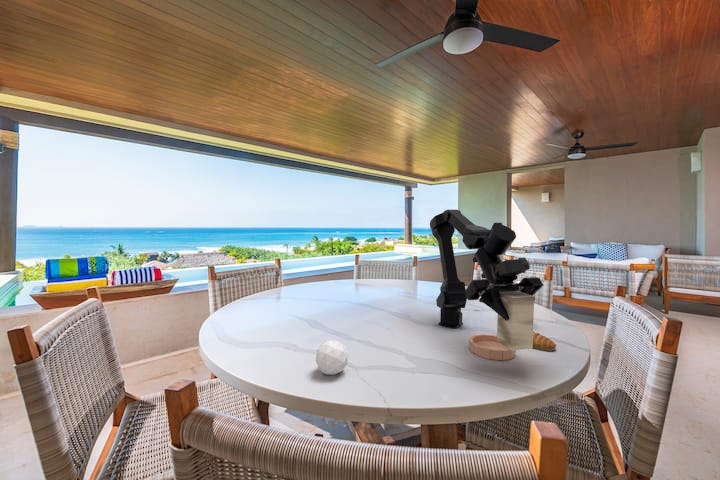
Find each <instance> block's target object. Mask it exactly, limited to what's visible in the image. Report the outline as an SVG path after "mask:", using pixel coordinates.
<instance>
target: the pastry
mask: <svg viewBox="0 0 720 480" xmlns="http://www.w3.org/2000/svg"><path fill="white" fill-rule="evenodd" d="M556 347H557V344H556V343H555V342H554V341H553V340H551V339H550V338H548V337H546V336H544V335H542V334H541V333H539V332H535V331H533V349H534V350H538V351H544V352H546V351H547V352H553V351H554V350H556Z"/></svg>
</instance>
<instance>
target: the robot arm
mask: <svg viewBox="0 0 720 480" xmlns="http://www.w3.org/2000/svg"><path fill="white" fill-rule="evenodd" d="M429 227H430V230H431V235H432V236H433V238H435V239H436V241H437V243H438V250H439V256H440V263H441V271H442V277H443V281H442V284H441V285H440V287H439V290H440V293H439V294H438V296H437V298H436V300H435V302H436V307H438V308H440V309H439V310H440V313H439V315H440V316H439V317H440V321H439V322H438V323H437V324H438V325H439V326H444V327H448V328H451V329H457V328H458V327H460V326H462V325H463V324H464V323H463V312H462V309H465V308H466V304H467V301H478V302H479V303H483V304H484V305H486V306H487V307H489V308H490V309H491V310H492V311H493V312H495V313H496V314H497V315H498V314H499V315H500V316H501V317H502V318H503V319H505V320H506V321H507V320H509V316H508V313H507V311H506V309H505V307H504V305H503V303H502V300H501V298H500V294H499V292H508V291H520V292H523V293H526V294H529V295H532V296H533V295H534V296H535V294H536V293H537V292H538V291H539V290H541V288H543V286H544V284H543V282H542V280H541V279H540V277H537V276H527V277H526V276H525V277H523V278H521V280H519V281H520V282H519V283H514V282H513V281H517V279H518V278H519V277H518V275H520V274H525V273H526V271H529V270H530V267H531V266H530V263H529V261H528V260H527V258H526V257H518V258H515V259H506V260H502V258H501V256H502V255H504V254H505V253H506V252H507V251H508V249H509V248H510V247H511V245H512V244H513V243H514V241H515V240H516V238H517V234H516V232H515V231H514V230H513V229H512V228H510V227H509V226H507V225H504V224H503V222H493V224H492V226H491V228H490V229H488V228H486V227H485V226H482V225H481V226H480V225H476V224H474V222H472V221H471V220H470V219H469V218H468V217H466V216H465V215H464V214H462V212H461V210H459V209H446V210H444V211H443V212H441V213H439V214H436V215H435V216H433V218H431V220H430V221H429ZM456 231H457V232H458V233H459V234H460V235H461V236H462V243H463V244H464V246H465V247H466V248H467V249H468V250H476V252H474V256H473V258H472V262H473V263H478V266H479V267H480V269H481V271H482V273H481V275H480V276H481V278H480V279H472V280H471V281H470V283H469V284H468V286H467V288H466V283H465V282H464V281H461V280H460V279H459V276H458V271H457V264H456V259H455V252H454V247H453V246H454V245H453V240H452V238H453V236H454V234H455V232H456Z"/></svg>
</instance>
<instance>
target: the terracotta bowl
mask: <svg viewBox="0 0 720 480" xmlns="http://www.w3.org/2000/svg"><path fill="white" fill-rule="evenodd" d="M468 348H469V350H470V352H471V353H473V354H474V355H475V356H477V357H481V358H483V359H488V360H496V361H507V360H512V359H513V358H514V357H515V356H516V354H517V353H516V351H517V350H510V349H509V348H507V347H505V346H504V345H502V344H501V343H499V342H498V341H497V334H496V335H495V334H488V333H487V334H486V333H482V334H481V333H479V334H475V335H474V334H473V335H472V336H470V337H469V338H468Z"/></svg>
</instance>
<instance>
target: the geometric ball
mask: <svg viewBox="0 0 720 480" xmlns="http://www.w3.org/2000/svg"><path fill="white" fill-rule="evenodd" d="M348 358H349V354H348V351H347V348H346V346H345V345H344V344H342V343H341V342H340V341H337V340H333V339H332V340H331V339H330V340H328V341H326V342H324V343H322V344H320V346H319V348H318V349H317V350H316V354H315V362H316V364H317V368H318V369H319V370H320V371H321V373H323V374H324V375H328V376H335V375H338V374H339V373H341V372H343V370H344V369H345V368H346V367H347V365H348Z"/></svg>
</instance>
